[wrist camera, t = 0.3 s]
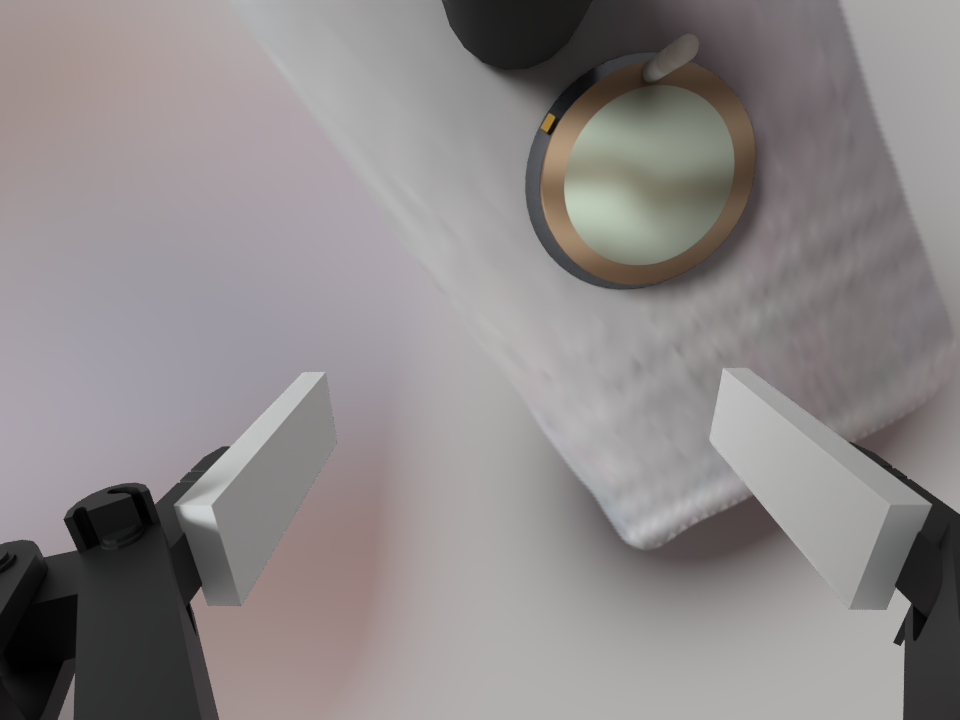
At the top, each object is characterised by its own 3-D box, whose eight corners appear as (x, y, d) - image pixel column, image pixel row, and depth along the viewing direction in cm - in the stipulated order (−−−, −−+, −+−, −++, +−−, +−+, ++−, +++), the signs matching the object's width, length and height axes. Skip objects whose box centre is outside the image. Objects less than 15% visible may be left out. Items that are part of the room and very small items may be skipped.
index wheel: (534, 81, 34) (548, 49, 26) (747, 56, 33) (831, 16, 25) (543, 284, 40) (556, 312, 32) (724, 268, 39) (787, 293, 31)
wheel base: (518, 68, 35) (519, 64, 34) (759, 40, 34) (768, 35, 33) (530, 295, 41) (532, 299, 40) (731, 278, 40) (738, 281, 39)
